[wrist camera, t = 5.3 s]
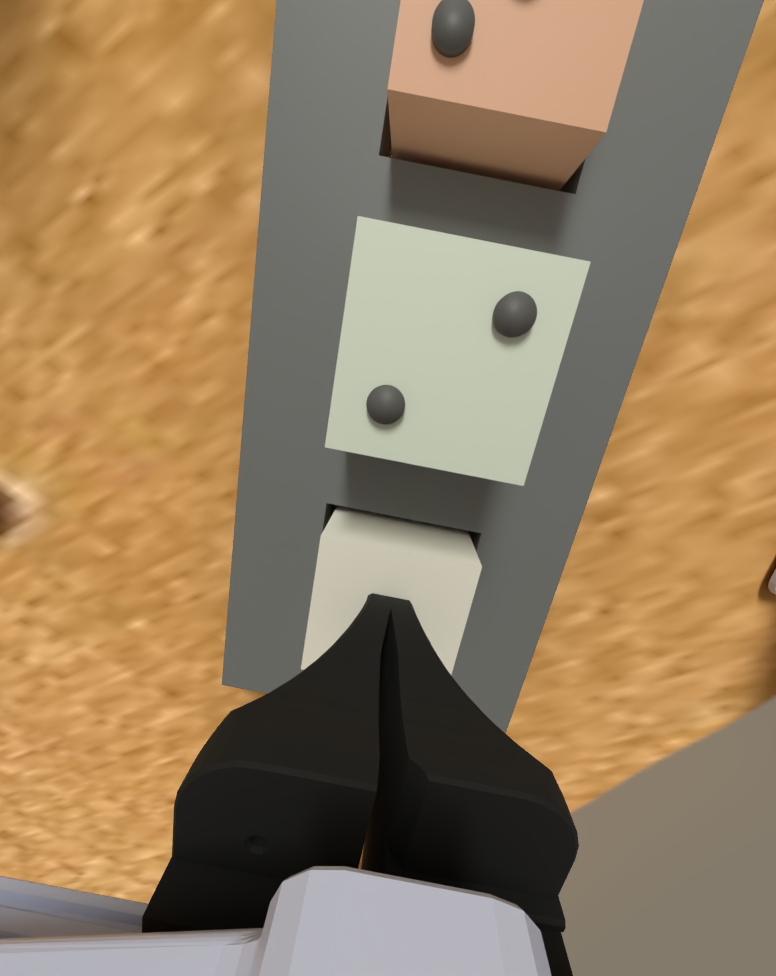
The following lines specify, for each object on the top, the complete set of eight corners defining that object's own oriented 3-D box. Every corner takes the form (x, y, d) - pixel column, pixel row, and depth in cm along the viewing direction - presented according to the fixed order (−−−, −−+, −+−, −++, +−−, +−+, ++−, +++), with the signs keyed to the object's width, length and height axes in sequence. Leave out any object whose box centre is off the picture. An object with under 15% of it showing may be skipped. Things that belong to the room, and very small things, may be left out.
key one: (463, 520, 15) (483, 569, 11) (436, 624, 17) (445, 701, 13) (342, 496, 15) (319, 538, 11) (325, 602, 17) (298, 673, 13)
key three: (596, 10, 11) (705, -203, 7) (544, 209, 12) (610, 125, 8) (426, -23, 11) (437, -257, 7) (393, 179, 12) (386, 82, 8)
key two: (531, 300, 12) (595, 258, 8) (489, 455, 13) (526, 488, 9) (373, 269, 12) (356, 211, 8) (348, 427, 13) (322, 448, 9)
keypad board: (767, -131, 10) (851, -250, 8) (493, 700, 18) (503, 739, 16) (324, -219, 10) (305, -359, 8) (241, 651, 18) (221, 684, 16)
